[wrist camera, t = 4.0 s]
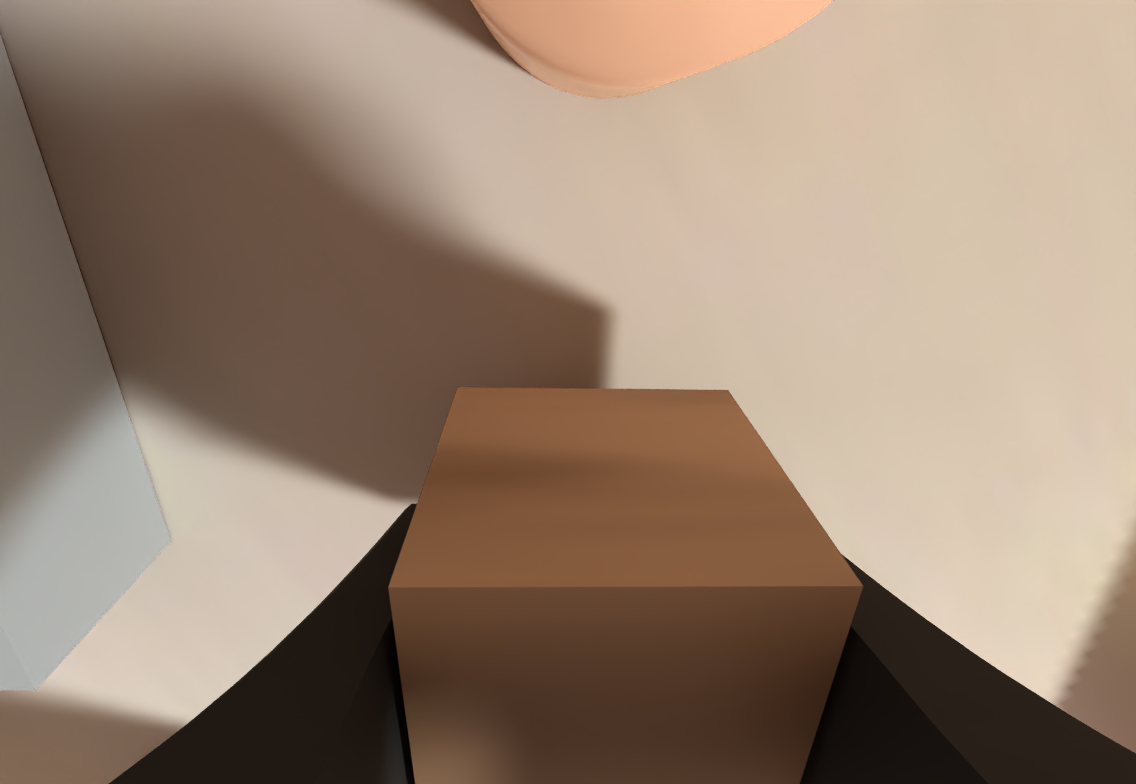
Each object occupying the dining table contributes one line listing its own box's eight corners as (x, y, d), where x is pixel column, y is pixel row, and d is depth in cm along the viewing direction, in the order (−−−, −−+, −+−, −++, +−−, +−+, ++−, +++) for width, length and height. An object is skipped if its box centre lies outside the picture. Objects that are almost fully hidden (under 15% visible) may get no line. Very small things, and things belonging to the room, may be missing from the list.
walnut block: (695, 593, 12) (777, 852, 8) (470, 594, 11) (425, 860, 7) (727, 389, 10) (862, 585, 6) (457, 386, 10) (388, 587, 5)
